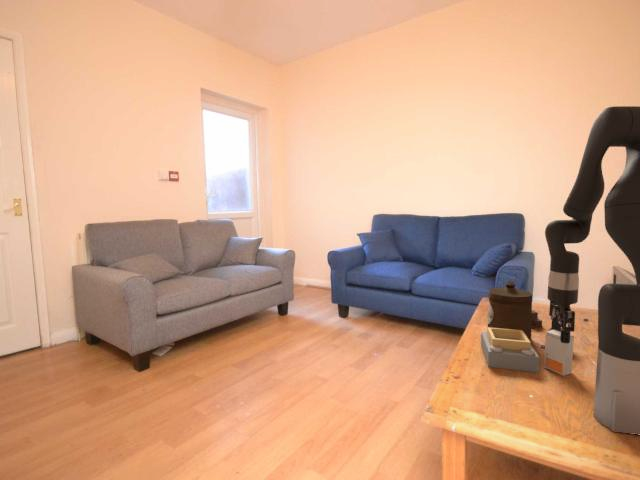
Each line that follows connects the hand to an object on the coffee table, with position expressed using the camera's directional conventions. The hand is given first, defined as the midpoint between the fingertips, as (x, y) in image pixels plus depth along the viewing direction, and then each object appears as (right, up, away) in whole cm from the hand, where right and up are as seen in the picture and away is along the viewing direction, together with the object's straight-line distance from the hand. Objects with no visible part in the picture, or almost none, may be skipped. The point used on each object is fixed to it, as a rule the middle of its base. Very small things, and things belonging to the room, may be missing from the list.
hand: (559, 337), depth 106 cm
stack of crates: (+15, -7, +41) cm, 44 cm away
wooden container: (-1, -8, +27) cm, 28 cm away
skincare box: (0, -11, +1) cm, 11 cm away
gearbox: (-11, -10, +11) cm, 18 cm away
